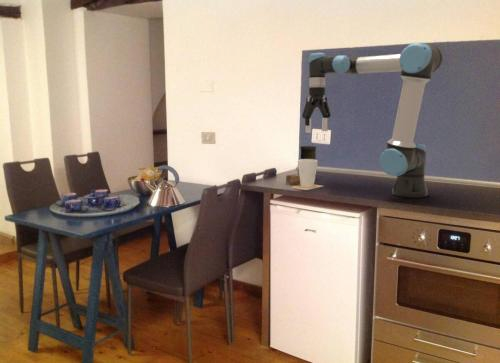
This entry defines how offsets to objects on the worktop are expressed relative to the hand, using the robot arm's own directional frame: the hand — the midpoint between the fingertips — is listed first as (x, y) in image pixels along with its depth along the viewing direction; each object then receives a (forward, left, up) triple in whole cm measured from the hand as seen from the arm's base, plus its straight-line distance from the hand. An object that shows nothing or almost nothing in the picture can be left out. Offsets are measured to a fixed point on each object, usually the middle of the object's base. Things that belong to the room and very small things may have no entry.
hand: (316, 132), depth 223 cm
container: (+14, -13, -27) cm, 33 cm away
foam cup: (+2, +3, -27) cm, 27 cm away
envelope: (+2, +3, -27) cm, 27 cm away
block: (+11, +3, -27) cm, 30 cm away
